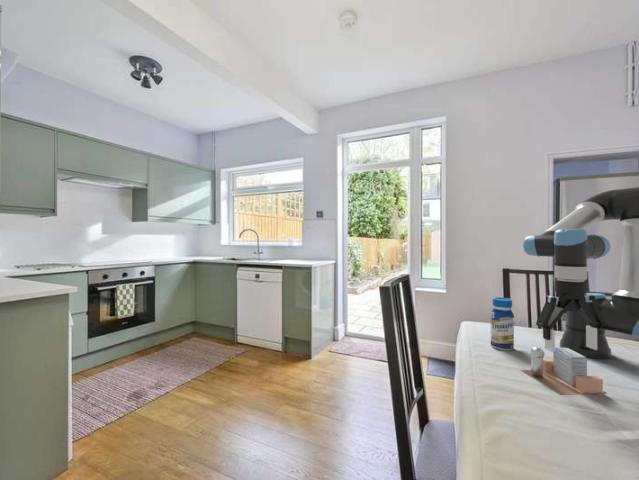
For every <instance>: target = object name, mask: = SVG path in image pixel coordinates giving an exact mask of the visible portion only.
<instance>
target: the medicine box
mask: <svg viewBox="0 0 639 480" xmlns="http://www.w3.org/2000/svg"><path fill="white" fill-rule="evenodd" d="M552 353H553V354H552V357H553V358H552V359H553V373H554V374H555V375H556V376H558V377H559V378H561V379H562V380H564V381H565V382H567V383H568V384H570V385H571V386H576V376H588V359H587V358H588V357H585V356H583V355H581V354H579V353H577V352H575V351H573V350H571V349H569V348H560V346H559V347H555V352H552Z"/></svg>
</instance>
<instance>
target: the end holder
mask: <svg viewBox="0 0 639 480" xmlns="http://www.w3.org/2000/svg"><path fill="white" fill-rule="evenodd" d="M543 373H544V374H546V375H547V376H549V377H551V378H553V379H555V380H557V381H558V382H560V383H562V384H564V385H566V386H567V387H569V388H571V389H573V390H575V391H576V392H578V393H580V394H579V395H598V393H603V394H605V393H604V392H605V391H604V389H603V388H604V386H603V385H604V384H603V383H604V379H603V378H601V377H599V376H597V375H587V376H576V386H571V385H570V384H568V383H567V382H565V381H564V380H562V379H561V378H559V377H558V376H556V375H555V374H554V373H553V358H543ZM603 391H604V392H603Z"/></svg>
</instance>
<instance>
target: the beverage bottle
mask: <svg viewBox="0 0 639 480" xmlns="http://www.w3.org/2000/svg"><path fill="white" fill-rule="evenodd" d="M492 306H493V308H492V310H491V311H490V316H491V317H490V320H489V321H490V346H491V347H492V348H494V349H496V348H497V350H500V351H512V350H514V349H515V346H514V345H515V321H514V319H515V315H514V313H513V311H512V308H513V300H512V299H511V298H507V297H500V296H498V297H493V298H492Z"/></svg>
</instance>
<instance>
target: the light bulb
mask: <svg viewBox="0 0 639 480" xmlns="http://www.w3.org/2000/svg"><path fill="white" fill-rule="evenodd" d="M529 353H530V356H531V357H530V359H531V360H530V361H531V362H530V364H531V365H530V367H531V368H530V370H531V375H532V376H534V377H537V378H543V359H544V357H545V351H544V350H543V349H542V348H540V347H538V346H534V347H532V348H531V349H530V351H529Z"/></svg>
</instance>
